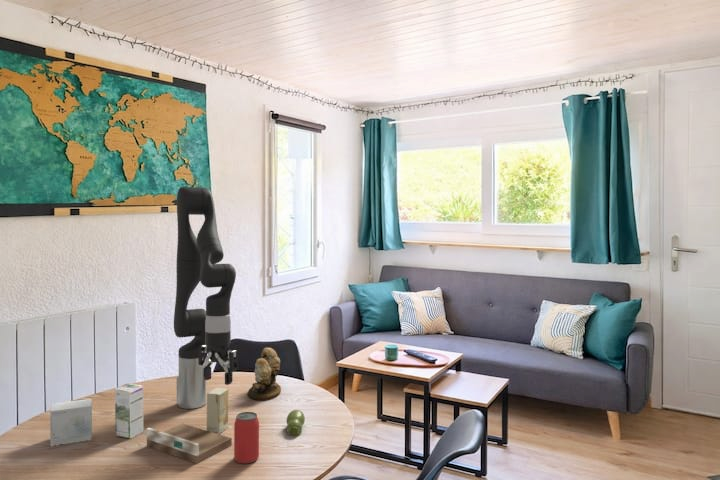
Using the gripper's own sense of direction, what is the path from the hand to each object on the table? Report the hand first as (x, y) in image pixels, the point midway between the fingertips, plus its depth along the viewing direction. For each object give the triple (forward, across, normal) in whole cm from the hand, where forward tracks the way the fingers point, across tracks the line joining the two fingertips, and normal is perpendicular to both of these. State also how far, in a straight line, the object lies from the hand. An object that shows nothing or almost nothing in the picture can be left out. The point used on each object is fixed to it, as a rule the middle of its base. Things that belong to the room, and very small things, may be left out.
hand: (217, 381), depth 158 cm
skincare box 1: (+15, -31, -27) cm, 44 cm away
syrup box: (+15, -20, -16) cm, 30 cm away
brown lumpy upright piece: (+15, -10, +34) cm, 39 cm away
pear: (+16, +20, +13) cm, 28 cm away
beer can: (+16, +20, -10) cm, 27 cm away
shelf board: (+15, +1, -12) cm, 19 cm away
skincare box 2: (+15, 0, 0) cm, 15 cm away
